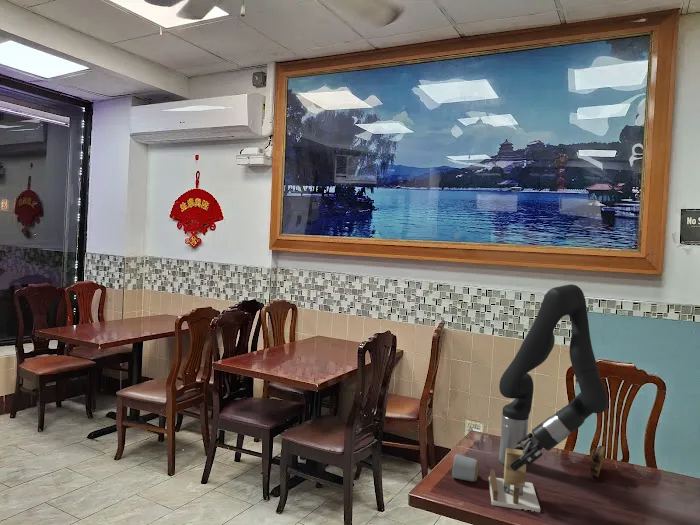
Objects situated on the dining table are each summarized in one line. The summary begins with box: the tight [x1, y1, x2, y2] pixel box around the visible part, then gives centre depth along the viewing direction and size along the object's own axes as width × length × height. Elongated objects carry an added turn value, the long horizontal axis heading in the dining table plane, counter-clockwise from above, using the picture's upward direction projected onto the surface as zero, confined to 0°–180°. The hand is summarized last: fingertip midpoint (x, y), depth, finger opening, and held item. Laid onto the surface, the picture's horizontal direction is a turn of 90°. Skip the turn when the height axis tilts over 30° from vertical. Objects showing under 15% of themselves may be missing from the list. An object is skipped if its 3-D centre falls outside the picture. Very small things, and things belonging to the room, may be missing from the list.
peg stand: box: [488, 476, 541, 513], centre depth 164 cm, size 14×17×1 cm
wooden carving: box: [588, 445, 606, 478], centre depth 183 cm, size 16×5×10 cm, turn 152°
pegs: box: [504, 483, 523, 496], centre depth 164 cm, size 6×4×3 cm
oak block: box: [503, 448, 527, 487], centre depth 163 cm, size 6×4×10 cm, turn 79°
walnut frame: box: [489, 468, 519, 504], centre depth 164 cm, size 7×16×5 cm, turn 168°
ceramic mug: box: [451, 453, 480, 483], centre depth 175 cm, size 11×8×8 cm
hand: (510, 462), depth 164 cm, fingers open, 8 cm apart
